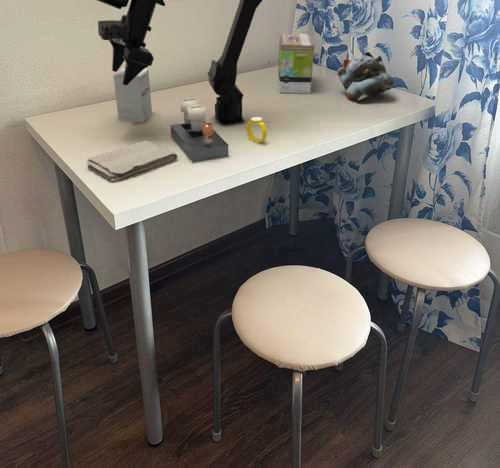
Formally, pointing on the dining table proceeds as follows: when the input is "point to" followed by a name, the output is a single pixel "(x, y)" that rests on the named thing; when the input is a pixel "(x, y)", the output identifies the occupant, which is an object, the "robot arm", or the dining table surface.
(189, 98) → the knob
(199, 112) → the knob
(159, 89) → the dining table surface
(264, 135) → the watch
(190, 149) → the dark grey tray
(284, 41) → the tea box
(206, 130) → the orange bulb
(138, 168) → the washcloth
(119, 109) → the supplement box
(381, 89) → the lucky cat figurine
